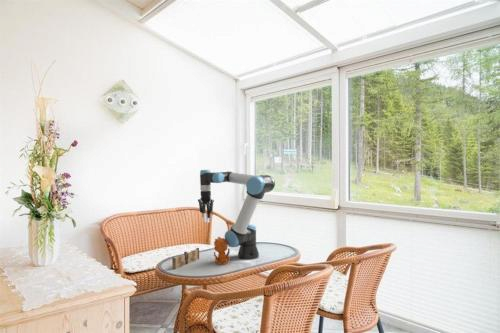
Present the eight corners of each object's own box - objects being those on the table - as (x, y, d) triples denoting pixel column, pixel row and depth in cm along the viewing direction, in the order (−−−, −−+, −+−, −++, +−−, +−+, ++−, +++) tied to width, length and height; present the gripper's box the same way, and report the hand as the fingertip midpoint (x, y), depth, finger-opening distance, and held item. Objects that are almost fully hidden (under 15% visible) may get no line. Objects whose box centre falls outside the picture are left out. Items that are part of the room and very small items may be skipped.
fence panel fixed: (185, 263, 233) (185, 251, 233) (188, 264, 232) (187, 251, 232) (172, 269, 221) (172, 256, 221) (174, 270, 221) (174, 257, 220)
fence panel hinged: (188, 263, 233) (188, 252, 233) (186, 263, 234) (186, 252, 233) (199, 258, 243) (199, 248, 243) (197, 258, 244) (197, 247, 244)
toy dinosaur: (227, 259, 241) (224, 234, 240) (233, 262, 231) (230, 236, 231) (212, 263, 236) (209, 237, 235) (217, 266, 226) (214, 239, 226)
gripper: (217, 190, 254) (217, 222, 254) (200, 189, 261) (201, 220, 262) (211, 191, 247) (212, 223, 248) (194, 190, 255) (195, 222, 255)
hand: (206, 222), depth 255 cm, fingers open, 2 cm apart
